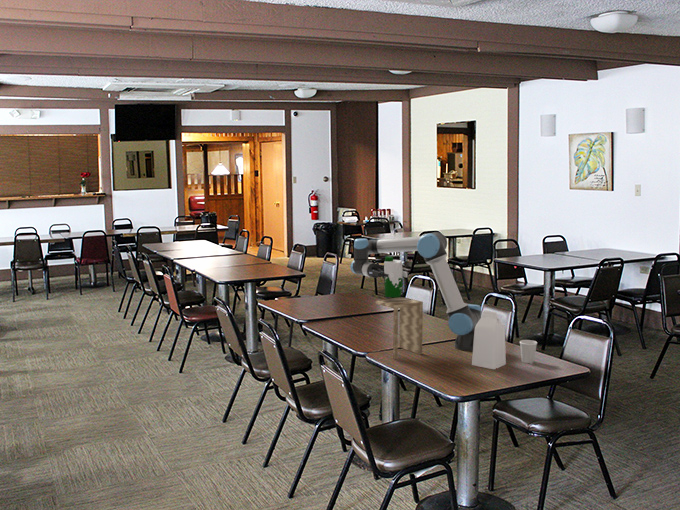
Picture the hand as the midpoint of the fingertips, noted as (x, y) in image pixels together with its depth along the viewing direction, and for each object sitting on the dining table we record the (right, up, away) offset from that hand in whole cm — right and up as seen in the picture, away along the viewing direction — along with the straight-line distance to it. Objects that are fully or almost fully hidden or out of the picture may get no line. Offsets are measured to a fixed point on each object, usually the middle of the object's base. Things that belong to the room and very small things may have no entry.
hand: (400, 275), depth 350 cm
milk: (+42, -43, -12) cm, 61 cm away
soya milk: (-3, -11, +5) cm, 12 cm away
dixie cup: (+62, -42, -7) cm, 75 cm away
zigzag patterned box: (0, -40, +9) cm, 41 cm away
